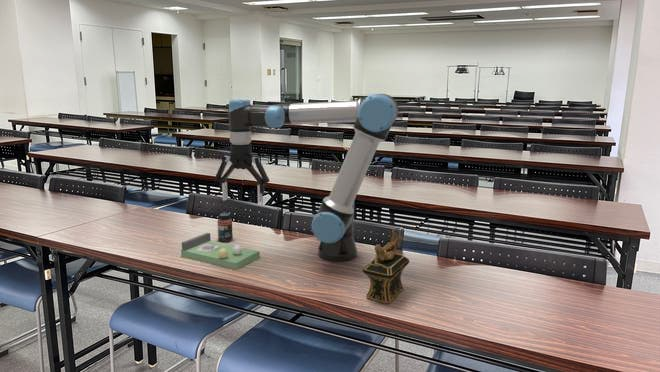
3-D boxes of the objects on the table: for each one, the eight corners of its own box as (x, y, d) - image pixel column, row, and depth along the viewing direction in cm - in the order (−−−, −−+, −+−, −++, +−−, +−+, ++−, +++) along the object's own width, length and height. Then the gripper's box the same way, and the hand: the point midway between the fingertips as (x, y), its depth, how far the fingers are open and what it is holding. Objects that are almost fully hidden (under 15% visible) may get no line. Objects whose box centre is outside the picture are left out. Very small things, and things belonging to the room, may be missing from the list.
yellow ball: (230, 257, 169) (230, 247, 169) (223, 260, 166) (223, 250, 165) (222, 255, 171) (222, 246, 170) (216, 258, 168) (215, 249, 167)
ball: (244, 253, 173) (244, 244, 172) (238, 256, 170) (237, 247, 169) (236, 252, 175) (236, 242, 174) (230, 254, 172) (230, 245, 171)
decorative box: (389, 308, 139) (393, 245, 135) (360, 300, 143) (362, 239, 139) (412, 284, 156) (416, 228, 152) (385, 278, 161) (388, 223, 156)
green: (259, 257, 177) (259, 243, 176) (236, 269, 165) (235, 254, 163) (206, 245, 188) (206, 232, 187) (181, 256, 176) (180, 242, 175)
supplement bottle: (226, 237, 199) (225, 211, 197) (235, 240, 196) (235, 214, 193) (215, 240, 195) (214, 214, 193) (224, 243, 191) (223, 217, 189)
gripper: (277, 143, 168) (278, 200, 173) (213, 140, 173) (215, 196, 177) (270, 145, 161) (271, 205, 165) (203, 143, 166) (206, 201, 170)
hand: (242, 200), depth 171 cm, fingers open, 13 cm apart
